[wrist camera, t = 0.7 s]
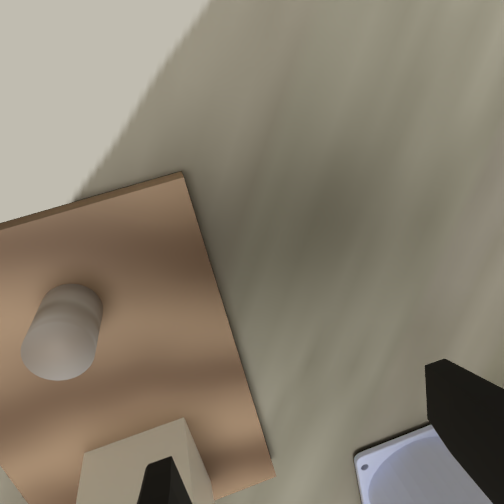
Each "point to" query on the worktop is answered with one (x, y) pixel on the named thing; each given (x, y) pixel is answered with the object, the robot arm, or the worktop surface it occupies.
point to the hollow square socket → (142, 466)
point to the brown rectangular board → (117, 341)
